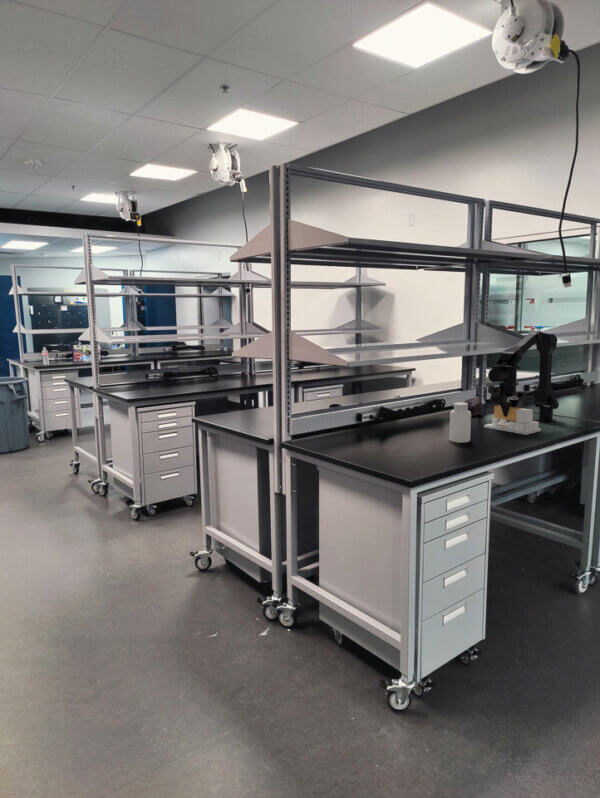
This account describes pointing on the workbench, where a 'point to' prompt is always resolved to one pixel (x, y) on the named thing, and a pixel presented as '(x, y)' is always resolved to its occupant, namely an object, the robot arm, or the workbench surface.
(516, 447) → the workbench surface
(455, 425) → the pill bottle
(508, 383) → the robot arm
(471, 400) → the rock
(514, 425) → the board
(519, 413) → the two-tone rectangular block
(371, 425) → the workbench surface
